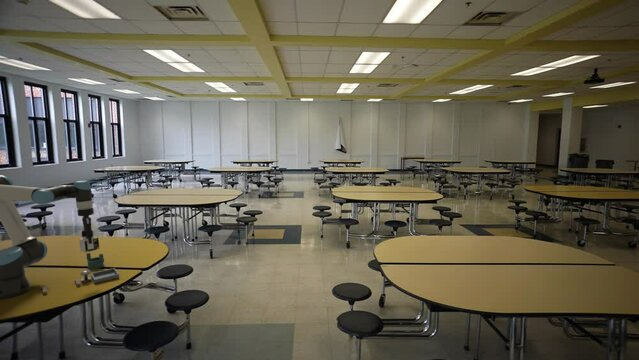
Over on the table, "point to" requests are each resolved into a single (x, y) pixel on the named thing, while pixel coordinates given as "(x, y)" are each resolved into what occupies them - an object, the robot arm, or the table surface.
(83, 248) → the medicine bottle
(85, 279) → the knob
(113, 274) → the tray
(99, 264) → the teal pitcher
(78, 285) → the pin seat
